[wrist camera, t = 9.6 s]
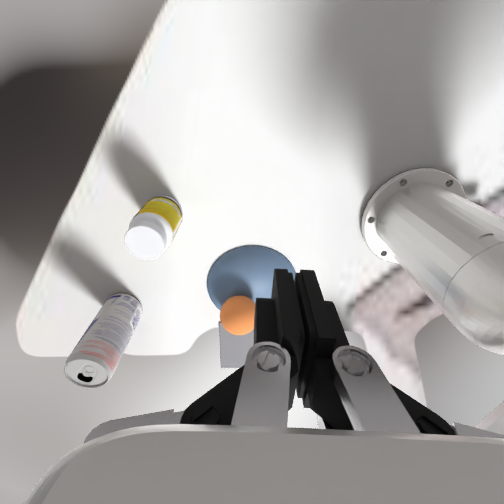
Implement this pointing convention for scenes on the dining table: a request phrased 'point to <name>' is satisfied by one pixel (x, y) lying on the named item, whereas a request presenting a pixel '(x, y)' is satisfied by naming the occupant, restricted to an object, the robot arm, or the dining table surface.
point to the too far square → (234, 348)
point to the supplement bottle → (153, 227)
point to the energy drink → (104, 342)
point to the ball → (238, 315)
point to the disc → (245, 274)
